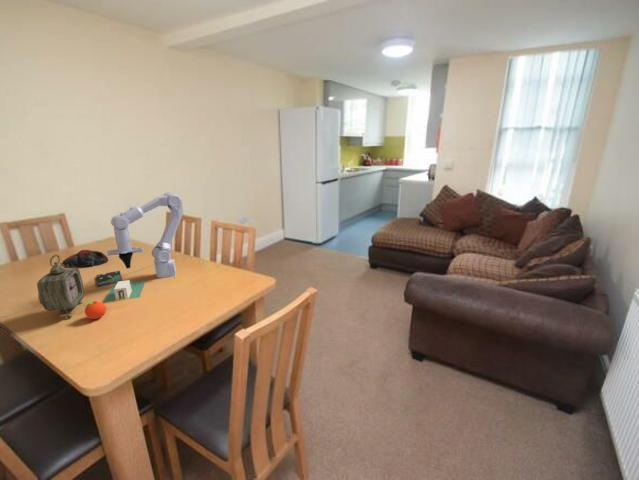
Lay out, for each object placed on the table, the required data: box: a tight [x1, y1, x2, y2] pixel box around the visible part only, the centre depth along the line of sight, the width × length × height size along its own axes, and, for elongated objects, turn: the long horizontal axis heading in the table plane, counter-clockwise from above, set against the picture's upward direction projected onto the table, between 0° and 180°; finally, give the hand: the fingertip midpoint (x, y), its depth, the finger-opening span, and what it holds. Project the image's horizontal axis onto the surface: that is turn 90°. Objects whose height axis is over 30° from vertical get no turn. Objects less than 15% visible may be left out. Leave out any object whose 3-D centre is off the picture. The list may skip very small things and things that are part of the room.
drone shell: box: [62, 249, 109, 268], centre depth 181 cm, size 21×20×8 cm
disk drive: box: [96, 270, 123, 288], centre depth 157 cm, size 10×3×15 cm
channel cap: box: [114, 279, 131, 300], centre depth 140 cm, size 5×8×5 cm, turn 21°
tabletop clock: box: [36, 254, 85, 319], centre depth 125 cm, size 14×9×25 cm, turn 17°
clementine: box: [81, 300, 107, 320], centre depth 123 cm, size 8×7×7 cm
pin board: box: [102, 280, 146, 304], centre depth 145 cm, size 14×19×4 cm
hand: (128, 267), depth 150 cm, fingers closed
